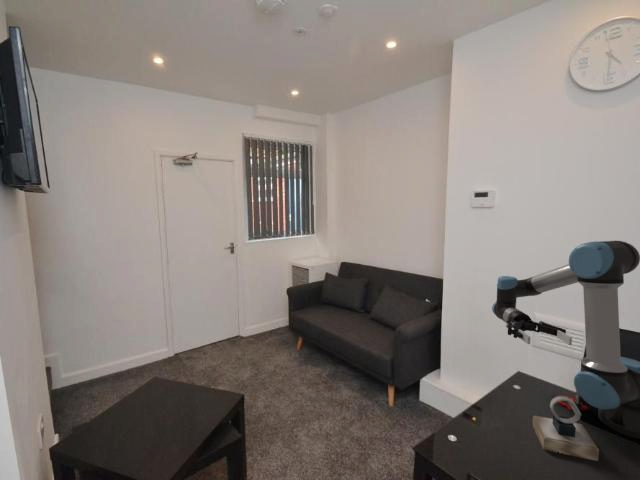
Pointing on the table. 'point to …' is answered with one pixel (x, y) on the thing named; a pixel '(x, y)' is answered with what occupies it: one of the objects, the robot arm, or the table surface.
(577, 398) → the tow hook
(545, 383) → the table surface
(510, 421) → the table surface
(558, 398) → the watch
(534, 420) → the plate
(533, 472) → the table surface
